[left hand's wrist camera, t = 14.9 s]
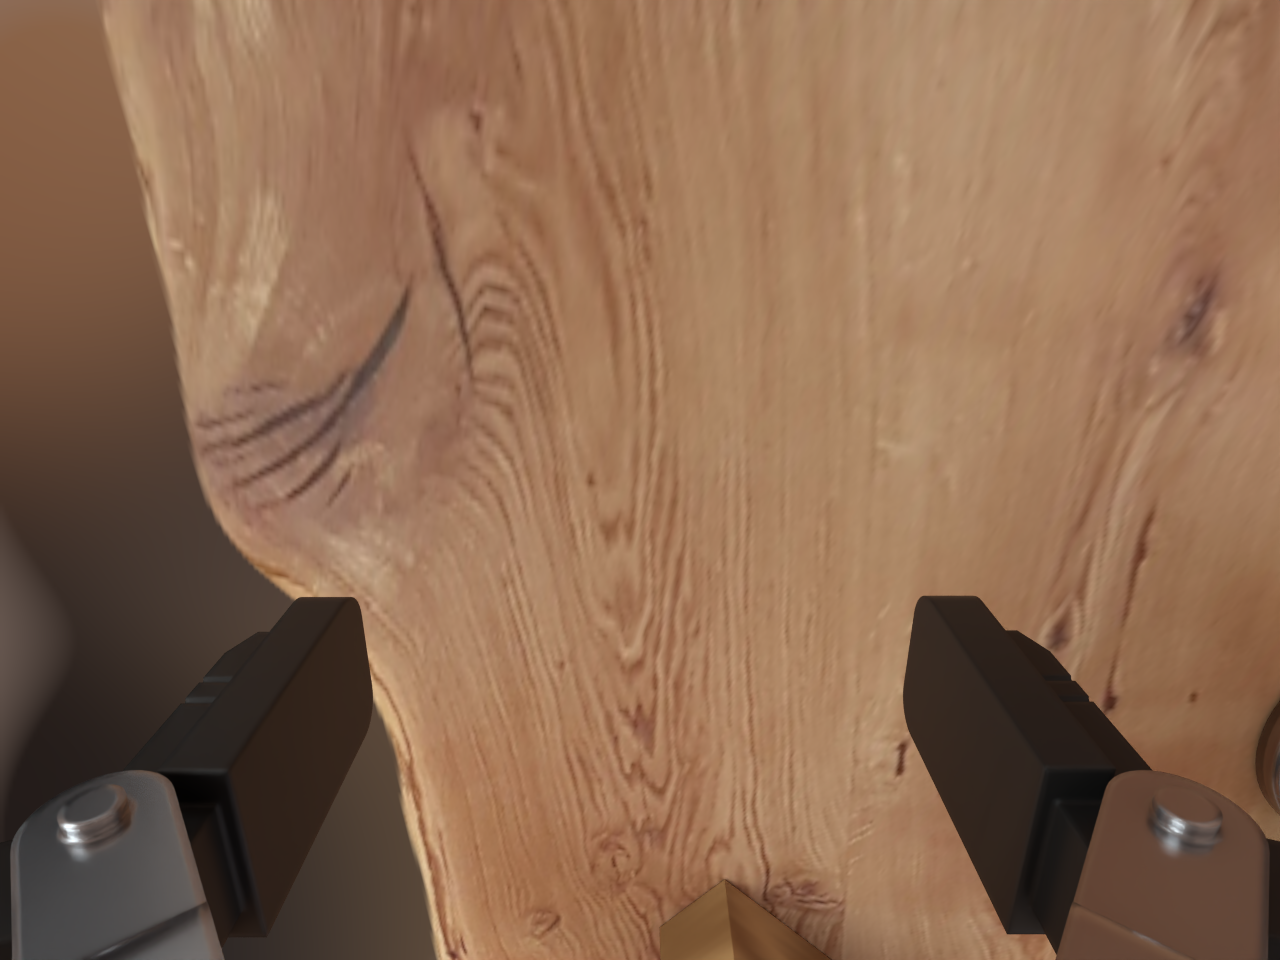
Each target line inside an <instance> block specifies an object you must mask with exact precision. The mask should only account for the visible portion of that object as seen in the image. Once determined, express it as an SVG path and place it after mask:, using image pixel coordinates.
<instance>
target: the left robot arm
mask: <svg viewBox="0 0 1280 960" xmlns="http://www.w3.org/2000/svg"><path fill="white" fill-rule="evenodd" d="M903 704H904V713H905V719H906V723H907V727H908V730H909V732H910V734H911V737H912V739H913V741H914V743H915V745H916V747H917V749H918V751H919V753H920V755H921V757H922V759H923V761H924V763H925V765H926V768H927V770H928V772H929V774H930V776H931V778H932V780H933V782H934V784H935V786H936V788H937V790H938V792H939V794H940V796H941V799H942V801H943V803H944V805H945V807H946V809H947V811H948V813H949V815H950V817H951V819H952V821H953V823H954V825H955V828H956V830H957V832H958V834H959V836H960V838H961V840H962V842H963V844H964V846H965V848H966V850H967V852H968V854H969V856H970V859H971V861H972V863H973V865H974V867H975V869H976V871H977V873H978V875H979V877H980V879H981V881H982V883H983V885H984V887H985V890H986V892H987V894H988V896H989V898H990V900H991V902H992V904H993V906H994V908H995V910H996V912H997V914H998V916H999V918H1000V921H1001V923H1002V925H1003V927H1004V929H1005V931H1006V933H1007V934H1046V936H1047V938H1048V940H1049V941H1050V943H1051V945H1052V947H1053V949H1054V951H1055V953H1056V955H1057V956H1056V960H1280V841H1275V840H1271V839H1267V838H1266V837H1265V835H1264V833H1263V832H1262V830H1261V829H1260V827H1259V826H1258V824H1257V823H1256V822H1255V821H1254V820H1253V819H1252V818H1251V817H1250V816H1249V815H1248V814H1247V813H1246V812H1245V811H1244V810H1242V809H1241V808H1240V807H1239V806H1238V805H1236V804H1235V803H1233V802H1232V801H1231V800H1229V799H1228V798H1226V797H1224V796H1223V795H1221V794H1219V793H1218V792H1216V791H1214V790H1212V789H1210V788H1208V787H1206V786H1204V785H1202V784H1200V783H1197V782H1195V781H1192V780H1190V779H1187V778H1184V777H1180V776H1177V775H1173V774H1169V773H1165V772H1158V771H1152V769H1151V768H1150V767H1149V766H1148V765H1147V764H1146V762H1145V761H1144V760H1143V759H1142V758H1141V757H1140V755H1139V754H1138V753H1137V752H1136V751H1135V750H1134V748H1133V747H1132V746H1131V745H1130V744H1129V743H1128V742H1127V740H1126V739H1125V738H1124V737H1123V736H1122V735H1121V733H1120V732H1119V731H1118V730H1117V729H1116V728H1115V726H1114V725H1113V724H1112V723H1111V722H1110V721H1109V719H1108V718H1107V717H1106V716H1105V715H1104V714H1103V712H1102V711H1101V710H1100V709H1099V708H1098V707H1097V705H1096V704H1095V703H1094V702H1089V696H1088V695H1087V694H1086V693H1085V692H1084V690H1083V689H1082V688H1081V687H1080V686H1079V685H1078V683H1077V682H1076V681H1072V680H1071V675H1070V674H1069V673H1068V672H1067V671H1066V669H1065V668H1064V667H1063V666H1062V665H1061V664H1060V663H1059V661H1058V660H1057V659H1056V658H1055V657H1054V656H1053V654H1052V653H1051V652H1050V651H1048V650H1047V649H1045V648H1044V647H1042V646H1041V645H1039V644H1037V643H1036V642H1034V641H1033V640H1031V639H1030V638H1028V637H1026V636H1025V635H1023V634H1022V633H1020V632H1019V631H1006V630H1005V629H1004V628H1003V627H1002V625H1001V624H1000V623H999V622H998V620H997V619H996V618H995V617H994V616H993V614H992V613H991V612H990V611H989V609H988V608H987V607H986V606H985V604H984V603H983V602H982V601H981V600H980V599H979V598H978V597H976V596H922V597H920V598H919V600H918V602H917V604H916V607H915V612H914V618H913V625H912V632H911V639H910V646H909V653H908V660H907V667H906V674H905V680H904V688H903ZM372 706H373V690H372V682H371V675H370V668H369V662H368V655H367V648H366V641H365V634H364V628H363V621H362V614H361V609H360V606H359V604H358V602H357V600H356V599H355V598H353V597H300V598H298V599H296V600H295V601H294V602H293V604H292V605H291V606H290V607H289V608H288V610H287V611H286V612H285V613H284V615H283V616H282V617H281V618H280V620H279V621H278V622H277V623H276V625H275V626H274V627H273V628H272V629H271V631H270V632H257V633H256V634H254V635H253V636H251V637H249V638H248V639H246V640H245V641H243V642H242V643H240V644H238V645H237V646H235V647H234V648H232V649H231V650H229V651H227V652H226V653H225V654H224V655H223V656H222V657H221V658H220V659H219V660H218V662H217V663H216V664H215V665H214V666H213V667H212V669H211V670H210V671H209V672H208V673H207V674H206V675H205V677H204V681H203V683H199V684H198V685H197V686H196V687H195V688H194V689H193V690H192V692H191V693H190V694H189V695H188V696H187V697H186V702H185V704H180V705H179V707H178V708H177V709H176V710H175V711H174V712H173V713H172V715H171V716H170V717H169V718H168V719H167V720H166V721H165V723H164V724H163V725H162V726H161V727H160V728H159V730H158V731H157V732H156V733H155V734H154V735H153V736H152V738H151V739H150V740H149V741H148V742H147V743H146V744H145V746H144V747H143V748H142V749H141V750H140V751H139V753H138V754H137V755H136V756H135V757H134V758H133V759H132V761H131V762H130V763H129V764H128V765H127V766H126V768H125V769H124V770H123V771H122V772H115V773H111V774H107V775H103V776H100V777H97V778H94V779H90V780H88V781H85V782H83V783H80V784H78V785H76V786H74V787H72V788H70V789H68V790H66V791H64V792H62V793H61V794H59V795H57V796H56V797H54V798H52V799H51V800H49V801H48V802H47V803H45V804H44V805H42V806H41V807H40V808H39V809H38V810H36V811H35V812H34V813H33V814H32V815H31V816H30V817H29V818H28V819H27V820H26V821H25V822H24V823H23V824H22V826H21V827H20V829H19V830H18V832H17V833H16V835H15V837H14V839H13V840H9V841H6V842H2V843H0V960H224V956H223V953H222V947H223V945H224V944H225V942H226V940H227V938H228V937H267V936H268V934H269V932H270V930H271V928H272V926H273V924H274V922H275V919H276V918H277V916H278V913H279V911H280V909H281V907H282V905H283V903H284V901H285V899H286V897H287V895H288V893H289V891H290V889H291V887H292V885H293V883H294V881H295V879H296V877H297V875H298V873H299V871H300V869H301V867H302V864H303V862H304V860H305V858H306V856H307V854H308V852H309V850H310V848H311V846H312V844H313V842H314V840H315V838H316V836H317V834H318V832H319V830H320V828H321V826H322V824H323V822H324V820H325V818H326V816H327V813H328V811H329V809H330V807H331V805H332V803H333V801H334V799H335V797H336V795H337V793H338V791H339V789H340V787H341V785H342V783H343V781H344V779H345V777H346V775H347V772H348V771H349V768H350V766H351V764H352V762H353V760H354V758H355V756H356V754H357V752H358V750H359V748H360V746H361V744H362V742H363V740H364V738H365V736H366V733H367V731H368V728H369V724H370V720H371V714H372Z"/></svg>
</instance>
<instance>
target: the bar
mask: <svg viewBox="0 0 1280 960" xmlns="http://www.w3.org/2000/svg"><path fill="white" fill-rule="evenodd" d="M660 960H831V959H830V958H828V957H827V956H826V955H824V954H823V953H822V952H820V951H819V950H818V949H816V948H815V947H814V946H812V945H811V944H810V943H808V942H807V941H806V940H804V939H803V938H802V937H800V936H799V935H798V934H796V933H795V932H794V931H793V930H791V929H790V928H789V927H787V926H786V925H785V924H783V923H782V922H781V921H779V920H778V919H777V918H775V917H774V916H773V915H771V914H770V913H769V912H767V911H766V910H765V909H763V908H762V907H761V906H759V905H758V904H757V903H755V902H754V901H753V900H751V899H750V898H749V897H747V896H746V895H745V894H743V893H742V892H741V891H739V890H738V889H737V888H735V887H734V886H733V885H731V884H730V883H729V882H727V881H726V880H723V881H722V882H720V883H719V884H718V885H716V886H715V887H713V888H712V889H711V890H709V891H708V892H707V893H705V894H704V895H703V896H701V897H700V898H699V899H697V900H696V901H695V902H693V903H692V904H691V905H689V906H688V907H687V908H685V909H684V910H682V911H681V912H680V913H678V914H677V915H676V916H674V917H673V918H672V919H670V920H669V921H668V922H666V923H665V924H664V925H662V926H661V927H660Z"/></svg>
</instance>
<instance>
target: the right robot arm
mask: <svg viewBox="0 0 1280 960" xmlns="http://www.w3.org/2000/svg"><path fill="white" fill-rule="evenodd" d="M1256 774H1257V780H1258V783H1259V786H1260V789H1261V791H1262V793H1263V795H1264V797H1265V798H1266V800H1267V801H1268V803H1269V804H1270V805H1271V806H1272V808H1273V809H1274V810H1275V811H1276V812H1277V813H1278V814H1279V815H1280V701H1279V703H1278V704H1277V706H1276V707H1275V708H1274V710H1273V712H1272V713H1271V715H1270V717H1269V718H1268V720H1267V722H1266V724H1265V727H1264V729H1263V731H1262V734H1261V737H1260V740H1259V743H1258V748H1257V754H1256Z"/></svg>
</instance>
